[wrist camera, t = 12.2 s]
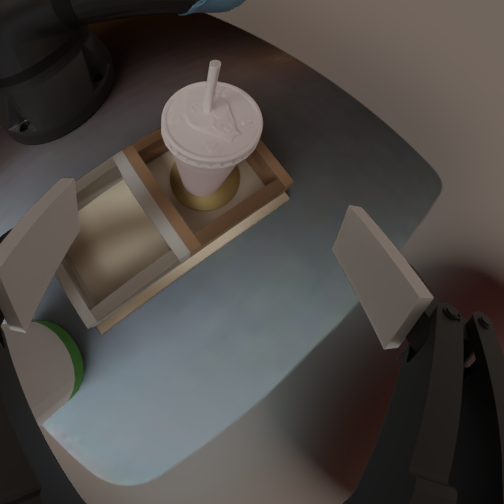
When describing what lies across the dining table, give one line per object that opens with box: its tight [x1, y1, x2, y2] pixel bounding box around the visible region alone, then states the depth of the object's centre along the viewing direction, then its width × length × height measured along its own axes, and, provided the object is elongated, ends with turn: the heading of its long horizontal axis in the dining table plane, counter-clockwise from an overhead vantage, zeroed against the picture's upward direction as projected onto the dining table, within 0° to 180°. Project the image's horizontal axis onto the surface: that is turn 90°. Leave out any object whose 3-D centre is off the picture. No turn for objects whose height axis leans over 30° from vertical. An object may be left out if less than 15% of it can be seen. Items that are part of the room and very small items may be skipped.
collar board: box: [55, 127, 294, 334], centre depth 24 cm, size 12×21×4 cm, turn 127°
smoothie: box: [161, 60, 263, 196], centre depth 19 cm, size 6×6×14 cm
